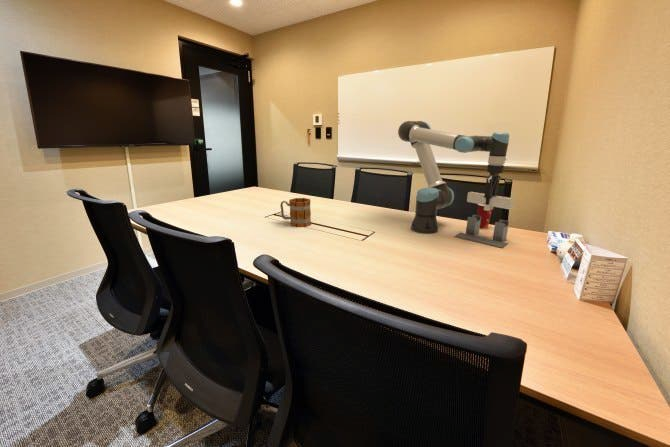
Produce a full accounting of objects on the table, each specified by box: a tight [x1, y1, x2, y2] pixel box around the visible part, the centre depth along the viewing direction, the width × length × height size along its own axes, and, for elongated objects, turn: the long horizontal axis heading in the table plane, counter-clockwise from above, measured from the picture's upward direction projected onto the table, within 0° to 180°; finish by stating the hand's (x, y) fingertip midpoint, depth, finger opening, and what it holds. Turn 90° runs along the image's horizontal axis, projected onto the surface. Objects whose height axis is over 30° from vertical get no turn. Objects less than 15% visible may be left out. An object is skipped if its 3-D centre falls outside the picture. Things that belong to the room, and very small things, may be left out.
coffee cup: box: [477, 204, 493, 229], centre depth 182 cm, size 8×8×15 cm
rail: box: [466, 191, 516, 210], centre depth 161 cm, size 22×4×5 cm, turn 45°
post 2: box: [492, 219, 510, 242], centre depth 161 cm, size 4×7×10 cm, turn 135°
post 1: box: [465, 214, 481, 236], centre depth 170 cm, size 4×7×10 cm, turn 135°
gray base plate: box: [454, 232, 508, 249], centre depth 162 cm, size 24×8×1 cm, turn 45°
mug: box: [280, 197, 312, 228], centre depth 189 cm, size 20×14×15 cm
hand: (488, 209), depth 163 cm, fingers closed on rail, 4 cm apart
